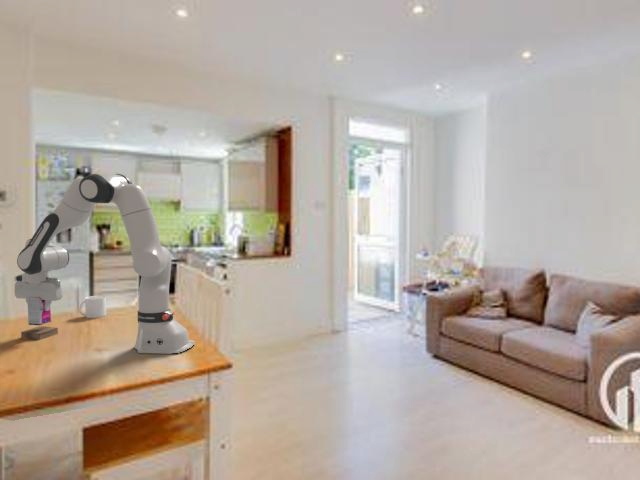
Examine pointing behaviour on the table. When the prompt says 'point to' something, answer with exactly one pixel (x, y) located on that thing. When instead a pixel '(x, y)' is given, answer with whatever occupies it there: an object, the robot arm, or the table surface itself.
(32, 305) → the supplement box
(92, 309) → the mug
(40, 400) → the table surface
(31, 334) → the base slab
